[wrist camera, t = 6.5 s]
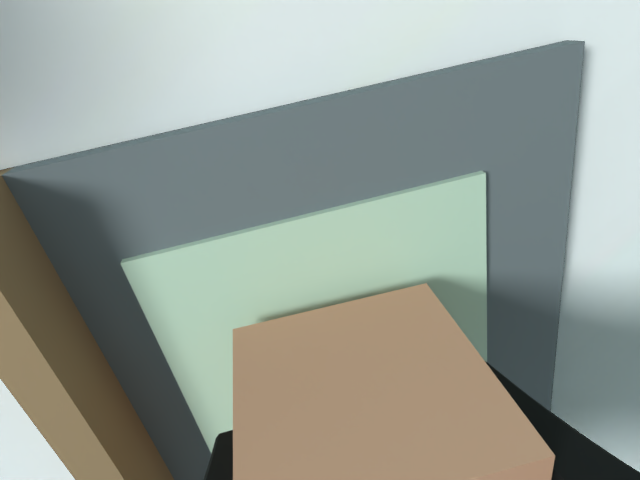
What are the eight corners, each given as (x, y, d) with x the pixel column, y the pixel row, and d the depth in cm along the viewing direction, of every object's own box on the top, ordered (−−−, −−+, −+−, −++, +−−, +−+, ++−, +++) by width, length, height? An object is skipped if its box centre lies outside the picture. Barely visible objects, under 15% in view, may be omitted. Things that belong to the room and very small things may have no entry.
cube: (426, 283, 11) (559, 460, 7) (432, 415, 13) (533, 614, 9) (232, 329, 11) (233, 554, 6) (273, 458, 13) (295, 689, 8)
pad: (484, 414, 15) (487, 419, 15) (230, 487, 14) (230, 492, 14) (481, 170, 11) (485, 173, 11) (122, 259, 10) (120, 263, 10)
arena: (535, 460, 18) (577, 522, 16) (200, 559, 17) (194, 639, 15) (566, 40, 10) (656, 44, 8) (-32, 177, 9) (-115, 224, 7)
